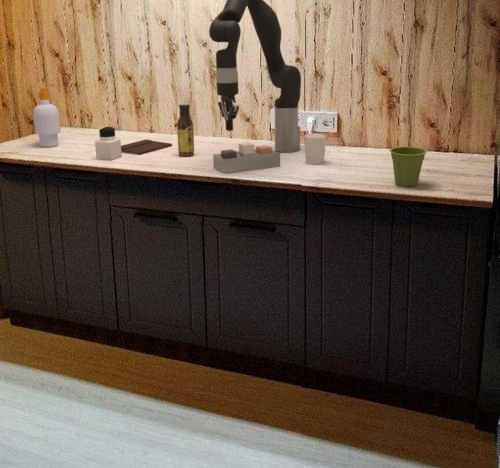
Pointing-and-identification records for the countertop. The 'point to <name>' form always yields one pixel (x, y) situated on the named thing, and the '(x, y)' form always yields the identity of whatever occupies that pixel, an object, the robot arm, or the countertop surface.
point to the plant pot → (407, 164)
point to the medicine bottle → (108, 144)
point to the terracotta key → (263, 149)
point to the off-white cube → (246, 148)
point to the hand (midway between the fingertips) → (229, 130)
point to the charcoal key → (228, 153)
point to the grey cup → (315, 148)
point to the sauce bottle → (185, 132)
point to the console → (246, 161)
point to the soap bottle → (46, 121)
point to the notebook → (143, 147)
